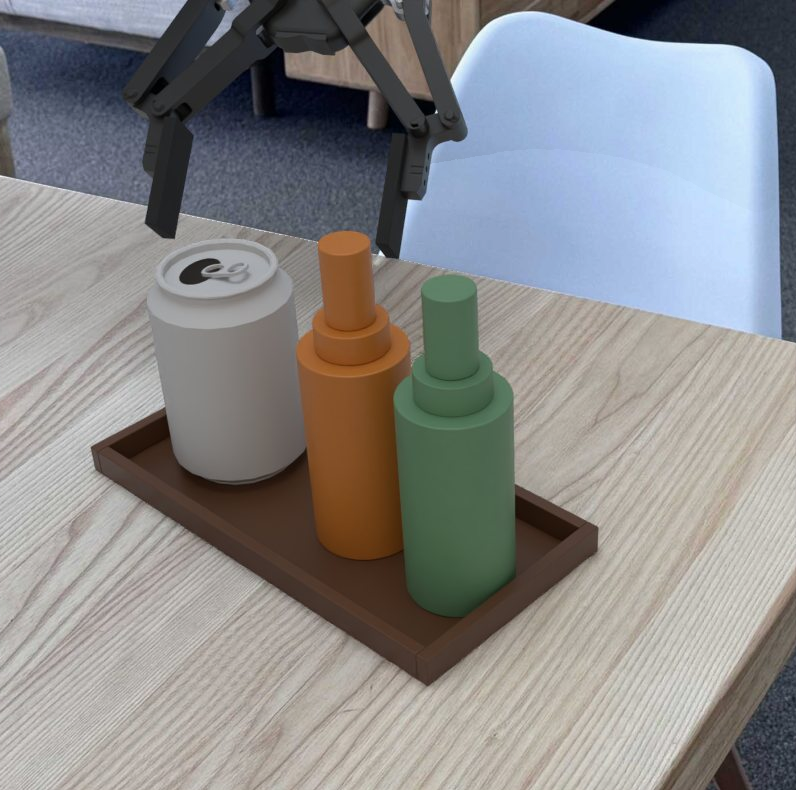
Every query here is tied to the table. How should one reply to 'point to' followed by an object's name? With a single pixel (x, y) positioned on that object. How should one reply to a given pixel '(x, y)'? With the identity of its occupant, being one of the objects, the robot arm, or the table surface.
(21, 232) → the table surface
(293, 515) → the tray
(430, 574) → the green bottle
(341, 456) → the amber bottle
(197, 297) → the can
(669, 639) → the table surface
